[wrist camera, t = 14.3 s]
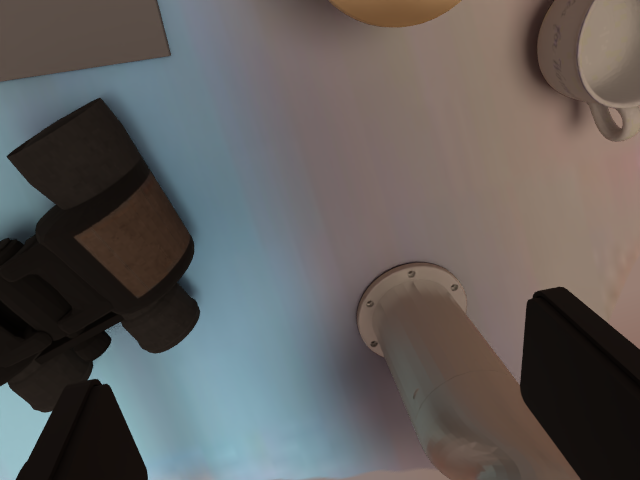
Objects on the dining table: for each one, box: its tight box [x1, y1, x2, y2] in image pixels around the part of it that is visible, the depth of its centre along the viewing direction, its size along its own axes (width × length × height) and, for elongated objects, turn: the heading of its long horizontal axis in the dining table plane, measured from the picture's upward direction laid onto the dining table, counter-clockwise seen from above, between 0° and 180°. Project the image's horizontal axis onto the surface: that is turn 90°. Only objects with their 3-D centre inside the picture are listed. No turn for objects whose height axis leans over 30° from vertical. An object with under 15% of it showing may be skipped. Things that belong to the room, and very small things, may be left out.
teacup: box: [537, 0, 640, 142], centre depth 39 cm, size 14×11×8 cm
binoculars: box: [0, 98, 200, 412], centre depth 40 cm, size 29×20×10 cm
